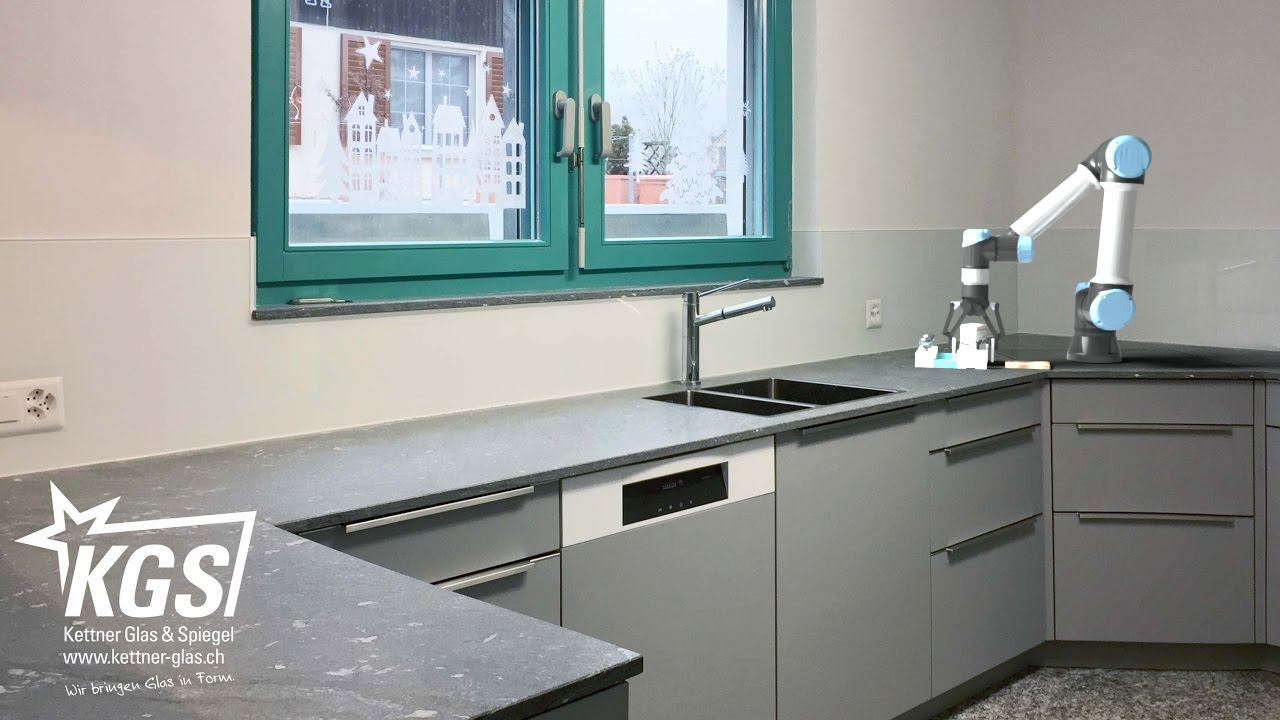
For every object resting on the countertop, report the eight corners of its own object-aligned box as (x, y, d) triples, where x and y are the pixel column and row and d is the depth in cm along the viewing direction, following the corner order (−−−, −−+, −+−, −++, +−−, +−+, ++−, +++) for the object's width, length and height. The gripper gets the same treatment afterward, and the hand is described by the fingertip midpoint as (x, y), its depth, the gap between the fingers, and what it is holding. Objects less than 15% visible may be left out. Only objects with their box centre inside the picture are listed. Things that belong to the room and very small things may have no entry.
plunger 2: (932, 361, 349) (932, 337, 348) (931, 363, 346) (932, 338, 345) (919, 361, 350) (920, 337, 349) (918, 362, 347) (919, 338, 346)
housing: (987, 361, 357) (988, 344, 356) (986, 369, 339) (986, 351, 338) (920, 359, 362) (920, 342, 362) (915, 366, 344) (915, 349, 344)
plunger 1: (934, 357, 358) (935, 334, 358) (933, 358, 355) (934, 335, 354) (921, 357, 359) (922, 333, 359) (921, 358, 356) (921, 334, 355)
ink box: (975, 366, 344) (976, 325, 343) (958, 365, 347) (959, 324, 345) (986, 363, 351) (987, 323, 349) (970, 362, 354) (971, 322, 352)
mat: (1048, 365, 347) (1049, 361, 347) (1049, 369, 338) (1050, 365, 338) (1005, 363, 351) (1005, 360, 351) (1005, 367, 341) (1005, 364, 341)
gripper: (1016, 283, 346) (1013, 360, 349) (935, 282, 353) (933, 357, 356) (1016, 284, 339) (1013, 363, 342) (933, 283, 346) (931, 360, 348)
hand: (972, 360), depth 349 cm, fingers open, 10 cm apart
